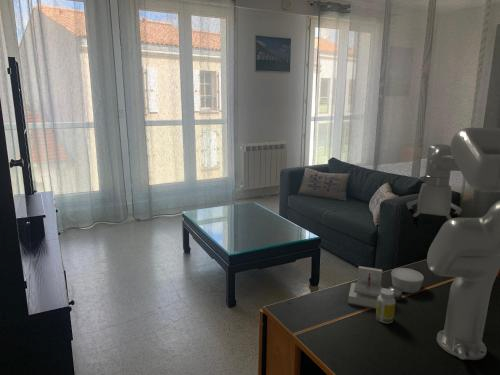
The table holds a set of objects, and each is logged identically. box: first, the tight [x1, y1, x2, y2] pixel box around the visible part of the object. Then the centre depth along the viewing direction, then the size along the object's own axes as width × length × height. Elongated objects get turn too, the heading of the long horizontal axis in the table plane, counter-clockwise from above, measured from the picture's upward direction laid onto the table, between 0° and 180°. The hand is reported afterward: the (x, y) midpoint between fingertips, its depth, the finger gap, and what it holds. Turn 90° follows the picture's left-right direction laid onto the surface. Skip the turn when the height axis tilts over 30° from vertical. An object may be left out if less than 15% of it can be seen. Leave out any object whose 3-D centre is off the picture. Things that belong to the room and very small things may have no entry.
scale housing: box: [347, 265, 387, 310], centre depth 131 cm, size 10×12×10 cm
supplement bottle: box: [375, 288, 396, 324], centre depth 120 cm, size 5×5×10 cm
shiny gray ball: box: [388, 285, 402, 301], centre depth 134 cm, size 4×4×3 cm
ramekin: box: [390, 267, 425, 294], centre depth 141 cm, size 11×11×5 cm
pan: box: [354, 281, 383, 297], centre depth 131 cm, size 7×9×2 cm
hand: (430, 228), depth 132 cm, fingers open, 9 cm apart
